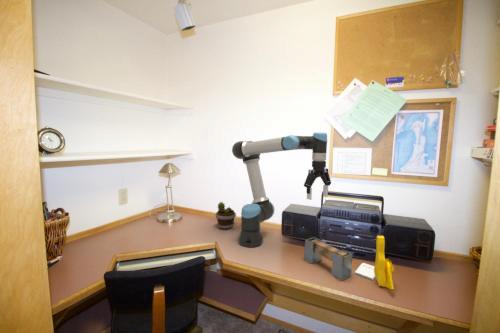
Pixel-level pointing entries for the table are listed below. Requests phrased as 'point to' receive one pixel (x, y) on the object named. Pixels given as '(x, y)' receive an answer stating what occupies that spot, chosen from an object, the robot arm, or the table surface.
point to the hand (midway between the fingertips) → (317, 197)
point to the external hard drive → (366, 271)
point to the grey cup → (342, 266)
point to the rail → (326, 250)
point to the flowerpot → (225, 217)
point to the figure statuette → (383, 265)
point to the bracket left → (311, 251)
